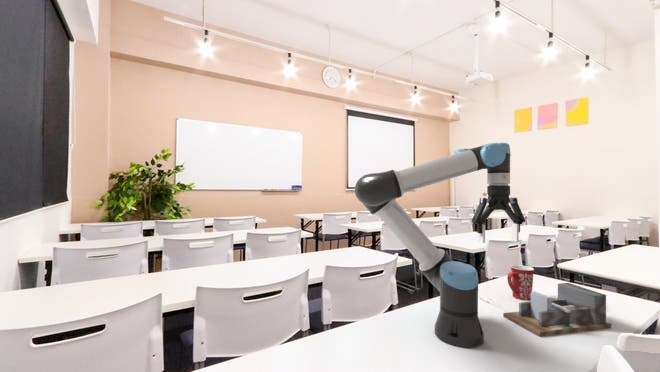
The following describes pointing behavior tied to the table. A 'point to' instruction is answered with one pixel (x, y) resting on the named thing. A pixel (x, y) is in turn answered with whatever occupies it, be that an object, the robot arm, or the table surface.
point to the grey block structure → (583, 316)
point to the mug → (521, 281)
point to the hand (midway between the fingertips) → (498, 241)
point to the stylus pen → (491, 302)
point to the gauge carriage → (545, 306)
